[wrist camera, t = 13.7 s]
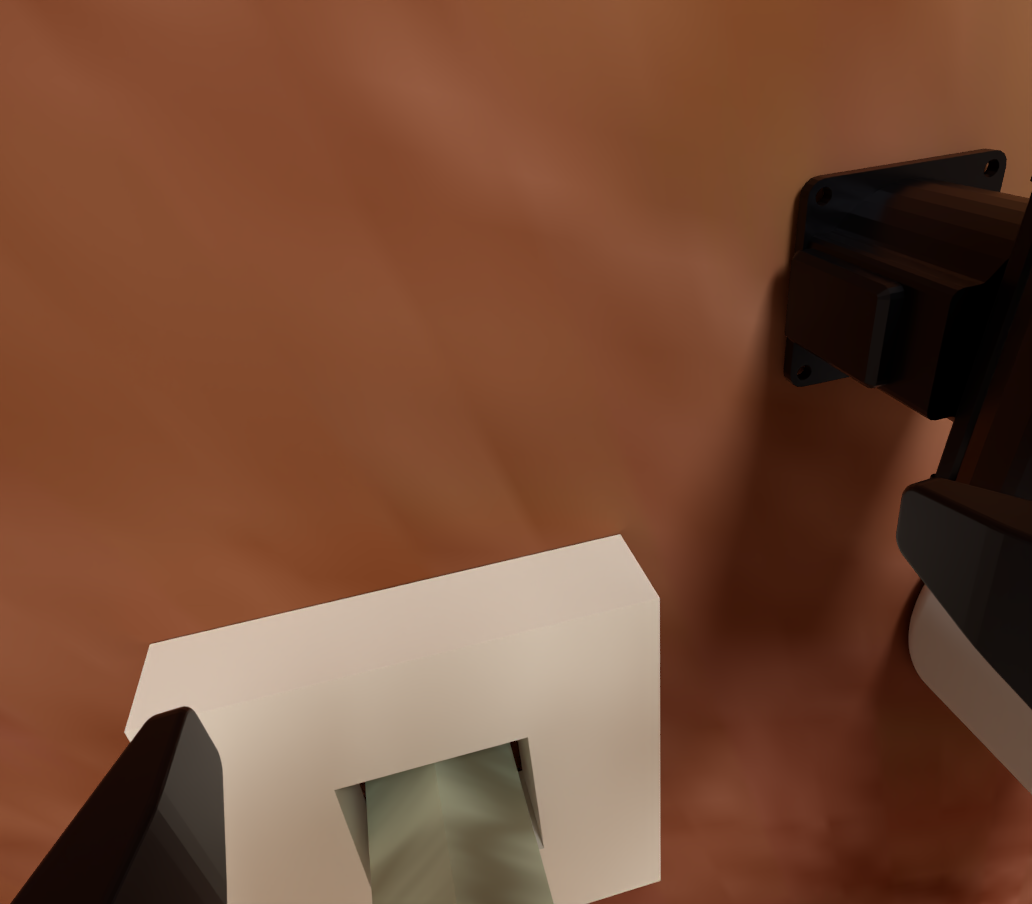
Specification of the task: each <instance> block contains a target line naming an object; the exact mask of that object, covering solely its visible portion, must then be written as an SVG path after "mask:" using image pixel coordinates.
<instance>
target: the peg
mask: <svg viewBox="0 0 1032 904" xmlns="http://www.w3.org/2000/svg"><path fill="white" fill-rule="evenodd" d="M365 788H366V805H367V822H368V839H369V856H370V872H371V889H372V904H554V903H553V899H552V896H551V892H550V888H549V885H548V881H547V877H546V873H545V870H544V866H543V862H542V859H541V855H540V851H539V848H538V844H537V840H536V837H535V833H534V829H533V826H532V822H531V818H530V815H529V811H528V807H527V804H526V800H525V796H524V793H523V789H522V785H521V782H520V778H519V774H518V771H517V767H516V763H515V760H514V756H513V752H512V749H511V745H510V742H509V743H505V744H501V745H498V746H494V747H490V748H487V749H483V750H479V751H476V752H472V753H468V754H465V755H461V756H457V757H454V758H450V759H446V760H443V761H439V762H435V763H432V764H428V765H424V766H421V767H417V768H413V769H410V770H406V771H402V772H399V773H395V774H392V775H388V776H384V777H381V778H377V779H373V780H370V781H366V782H365Z"/></svg>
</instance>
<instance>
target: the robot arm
mask: <svg viewBox="0 0 1032 904" xmlns="http://www.w3.org/2000/svg"><path fill="white" fill-rule="evenodd" d="M1006 160H1007V159H1006V156H1005V154H1004V153H1003V152H1002V151H999V150H992V149H980V150H974V151H968V152H961V153H955V154H949V155H943V156H937V157H931V158H925V159H918V160H912V161H906V162H900V163H894V164H888V165H882V166H875V167H869V168H863V169H857V170H851V171H845V172H838V173H832V174H826V175H820V176H816V177H813V178H811V179H810V180H809V181H808V182H806V183H805V185H804V187H803V188H802V190H801V194H800V201H799V212H798V222H797V233H796V244H795V254H794V256H793V258H792V261H791V271H790V282H789V293H788V304H787V315H786V325H785V335H786V336H787V340H786V350H785V361H784V376H785V378H786V379H787V380H788V381H789V382H791V383H792V384H793V385H795V386H797V387H803V386H808V385H813V384H817V383H822V382H827V381H832V380H836V379H841V378H846V377H851V378H853V379H854V380H856V381H858V382H859V383H861V384H863V385H864V386H866V387H868V388H875V387H876V388H878V389H880V390H881V391H883V392H885V393H886V394H888V395H890V396H891V397H893V398H895V399H896V400H898V401H900V402H901V403H903V404H905V405H906V406H908V407H910V408H911V409H913V410H915V411H916V412H918V413H920V414H921V415H923V416H925V417H926V418H928V419H930V420H939V419H943V418H948V419H949V420H951V421H953V425H952V428H951V430H950V433H949V436H948V439H947V442H946V445H945V448H944V451H943V454H942V457H941V460H940V463H939V466H938V469H937V472H936V474H932V475H931V476H930V479H927V480H924V481H920V482H917V483H914V484H911V485H909V486H907V487H906V489H905V490H904V492H903V494H902V499H901V505H900V512H899V518H898V525H897V531H896V540H897V544H898V547H899V549H900V551H901V553H902V555H903V556H904V557H905V559H906V560H907V561H908V563H909V564H910V565H911V566H912V568H913V569H914V570H915V572H916V573H917V574H918V576H919V577H920V578H921V580H922V581H923V582H924V583H925V585H926V586H927V587H928V589H929V590H930V591H931V593H932V594H933V595H934V596H935V598H936V599H937V600H938V602H939V603H940V604H941V606H942V607H943V608H944V609H945V611H946V612H947V613H948V615H949V616H950V617H951V619H952V620H953V621H954V623H955V624H956V625H957V626H958V628H959V629H960V630H961V632H962V633H963V634H964V635H965V637H966V638H967V639H968V640H969V642H970V643H971V644H972V645H973V646H974V648H975V649H976V650H977V651H978V652H979V653H980V655H981V656H982V657H983V658H984V659H985V660H986V661H987V662H988V664H989V665H990V666H991V667H992V668H993V669H994V670H995V671H996V672H997V673H998V674H999V675H1000V676H1001V678H1002V679H1003V680H1004V681H1005V682H1006V683H1007V684H1008V685H1009V686H1010V687H1011V688H1012V689H1013V690H1014V692H1015V693H1016V694H1017V695H1018V696H1019V697H1020V698H1021V699H1022V700H1023V701H1024V702H1025V703H1026V704H1027V705H1028V707H1029V708H1030V709H1031V710H1032V193H1031V196H1030V198H1025V197H1020V196H1015V195H1011V194H1006V193H1001V192H1000V190H1001V186H1002V182H1003V177H1004V173H1005V169H1006ZM987 163H988V167H987V170H986V171H985V172H984V168H985V166H986V164H987ZM1030 181H1032V177H1031V180H1030ZM821 188H823V191H824V193H823V196H822V198H821V199H820V201H819V202H816V195H817V192H818V191H819V190H820V189H821ZM803 366H805V367H804V370H803V371H802V372H801V373H800V374H798V375H797V373H798V370H799V369H800V368H801V367H803ZM10 904H227V873H226V845H225V818H224V791H223V769H222V762H221V758H220V755H219V752H218V750H217V748H216V746H215V745H214V743H213V741H212V740H211V738H210V736H209V734H208V733H207V731H206V729H205V728H204V726H203V724H202V722H201V721H200V719H199V717H198V716H197V714H196V713H195V711H194V710H193V709H192V708H190V707H188V706H182V707H179V708H175V709H172V710H169V711H166V712H162V713H159V714H156V715H154V716H152V717H150V718H149V719H148V720H147V721H146V722H145V723H144V725H143V726H142V727H141V729H140V730H139V731H138V733H137V734H136V735H135V737H134V738H133V739H132V741H131V742H130V743H129V745H128V746H127V747H126V749H125V750H124V751H123V753H122V754H121V755H120V757H119V758H118V760H117V761H116V762H115V764H114V765H113V766H112V768H111V769H110V770H109V772H108V773H107V774H106V776H105V777H104V778H103V780H102V781H101V782H100V784H99V785H98V786H97V788H96V789H95V790H94V792H93V793H92V794H91V796H90V797H89V799H88V800H87V801H86V803H85V804H84V805H83V807H82V808H81V809H80V811H79V812H78V813H77V815H76V816H75V817H74V819H73V820H72V821H71V823H70V824H69V825H68V827H67V828H66V829H65V831H64V832H63V833H62V835H61V836H60V838H59V839H58V840H57V842H56V843H55V844H54V846H53V847H52V848H51V850H50V851H49V852H48V854H47V855H46V856H45V858H44V859H43V860H42V862H41V863H40V864H39V866H38V867H37V868H36V870H35V871H34V872H33V874H32V875H31V877H30V878H29V879H28V881H27V882H26V883H25V885H24V886H23V887H22V889H21V890H20V891H19V893H18V894H17V895H16V897H15V898H14V899H13V901H12V902H11V903H10Z"/></svg>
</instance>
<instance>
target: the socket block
mask: <svg viewBox="0 0 1032 904" xmlns="http://www.w3.org/2000/svg"><path fill="white" fill-rule="evenodd" d="M182 706H188V707H190V708H192V709H193V710H194V711H195V713H196V714H197V716H198V717H199V719H200V721H201V722H202V724H203V726H204V728H205V729H206V731H207V733H208V734H209V736H210V738H211V740H212V741H213V743H214V745H215V746H216V748H217V750H218V752H219V755H220V758H221V762H222V769H223V791H224V818H225V845H226V873H227V904H372V889H371V872H370V856H369V839H368V822H367V805H366V801H365V798H364V795H363V793H362V790H361V787H360V784H359V783H362V782H366V781H370V780H373V779H377V778H381V777H384V776H388V775H392V774H395V773H399V772H402V771H406V770H410V769H413V768H417V767H421V766H424V765H428V764H432V763H435V762H439V761H443V760H446V759H450V758H454V757H457V756H461V755H465V754H468V753H472V752H476V751H479V750H483V749H487V748H490V747H494V746H498V745H501V744H505V743H509V742H512V741H516V740H518V746H519V753H520V759H521V765H522V771H519V772H518V774H519V778H520V782H521V785H522V789H523V793H524V796H525V800H526V804H527V807H528V811H529V815H530V818H531V822H532V826H533V829H534V833H535V837H536V840H537V844H538V848H539V851H540V855H541V859H542V862H543V866H544V870H545V873H546V877H547V881H548V885H549V888H550V892H551V896H552V899H553V903H554V904H587V903H591V902H594V901H597V900H600V899H603V898H607V897H610V896H613V895H616V894H619V893H623V892H626V891H629V890H632V889H635V888H639V887H642V886H645V885H648V884H651V883H655V882H658V881H660V598H659V596H658V594H657V593H656V591H655V590H654V588H653V586H652V585H651V583H650V582H649V580H648V578H647V577H646V575H645V573H644V572H643V570H642V569H641V567H640V565H639V564H638V562H637V561H636V559H635V557H634V556H633V554H632V553H631V551H630V549H629V548H628V546H627V544H626V543H625V541H624V540H623V538H622V536H621V535H620V534H619V535H615V536H611V537H606V538H602V539H598V540H593V541H589V542H585V543H581V544H576V545H572V546H568V547H564V548H559V549H555V550H551V551H546V552H542V553H538V554H534V555H529V556H525V557H521V558H517V559H512V560H508V561H504V562H499V563H495V564H491V565H487V566H482V567H478V568H474V569H470V570H465V571H461V572H457V573H453V574H448V575H444V576H440V577H435V578H431V579H427V580H423V581H418V582H414V583H410V584H406V585H401V586H397V587H393V588H388V589H384V590H380V591H376V592H371V593H367V594H363V595H359V596H354V597H350V598H346V599H341V600H337V601H333V602H329V603H324V604H320V605H316V606H312V607H307V608H303V609H299V610H295V611H290V612H286V613H282V614H277V615H273V616H269V617H265V618H260V619H256V620H252V621H248V622H243V623H239V624H235V625H230V626H226V627H222V628H218V629H213V630H209V631H205V632H201V633H196V634H192V635H188V636H183V637H179V638H175V639H171V640H166V641H162V642H158V643H154V644H150V646H149V649H148V653H147V656H146V660H145V663H144V667H143V670H142V673H141V677H140V680H139V684H138V687H137V691H136V694H135V697H134V701H133V704H132V708H131V711H130V715H129V718H128V721H127V725H126V728H125V734H126V736H127V737H128V739H129V741H130V742H131V741H132V739H133V738H134V737H135V735H136V734H137V733H138V731H139V730H140V729H141V727H142V726H143V725H144V723H145V722H146V721H147V720H148V719H149V718H150V717H152V716H154V715H156V714H159V713H162V712H166V711H169V710H172V709H175V708H179V707H182Z"/></svg>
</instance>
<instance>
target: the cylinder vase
mask: <svg viewBox="0 0 1032 904" xmlns="http://www.w3.org/2000/svg"><path fill="white" fill-rule="evenodd" d="M908 638H909V651H910V656H911V659H912V662H913V665H914V667H915V669H916V671H917V673H918V675H919V676H920V678H921V679H922V680H923V681H924V683H925V684H926V685H927V686H928V687H929V688H930V689H931V690H932V691H933V692H934V693H935V694H936V695H937V696H938V697H939V698H940V699H941V700H942V701H943V702H944V704H945V705H946V706H947V707H948V708H949V709H950V710H951V711H952V712H953V713H954V714H955V715H956V716H957V717H958V718H959V719H960V720H961V721H962V722H963V723H964V724H965V725H966V726H967V728H968V729H969V730H970V731H971V732H972V733H973V734H974V735H975V736H976V737H977V738H978V739H979V740H980V741H981V742H982V743H983V744H984V745H985V746H986V747H987V748H988V749H989V751H990V752H991V753H992V754H993V755H994V756H995V757H996V758H997V759H998V760H999V761H1000V762H1001V763H1002V764H1003V765H1004V766H1005V767H1006V768H1007V769H1008V770H1009V771H1010V772H1011V773H1012V775H1013V776H1014V777H1015V778H1016V779H1017V780H1018V781H1019V782H1020V783H1021V784H1022V785H1023V786H1024V787H1025V788H1026V789H1027V790H1028V791H1029V792H1030V793H1031V794H1032V710H1031V709H1030V708H1029V707H1028V705H1027V704H1026V703H1025V702H1024V701H1023V700H1022V699H1021V698H1020V697H1019V696H1018V695H1017V694H1016V693H1015V692H1014V690H1013V689H1012V688H1011V687H1010V686H1009V685H1008V684H1007V683H1006V682H1005V681H1004V680H1003V679H1002V678H1001V676H1000V675H999V674H998V673H997V672H996V671H995V670H994V669H993V668H992V667H991V666H990V665H989V664H988V662H987V661H986V660H985V659H984V658H983V657H982V656H981V655H980V653H979V652H978V651H977V650H976V649H975V648H974V646H973V645H972V644H971V643H970V642H969V640H968V639H967V638H966V637H965V635H964V634H963V633H962V632H961V630H960V629H959V628H958V626H957V625H956V624H955V623H954V621H953V620H952V619H951V617H950V616H949V615H948V613H947V612H946V611H945V609H944V608H943V607H942V606H941V604H940V603H939V602H938V600H937V599H936V598H935V596H934V595H933V594H932V593H931V591H930V590H929V589H928V587H927V586H926V585H925V584H924V586H923V588H922V590H921V592H920V594H919V596H918V598H917V601H916V604H915V606H914V609H913V613H912V616H911V620H910V626H909V637H908Z"/></svg>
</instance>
